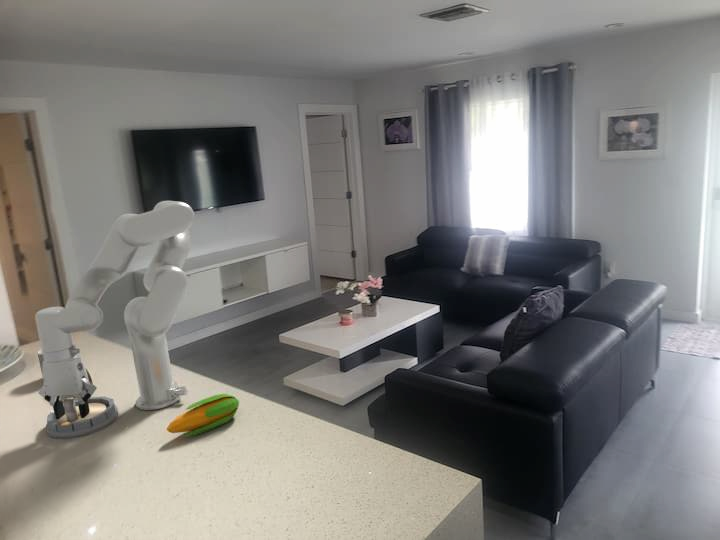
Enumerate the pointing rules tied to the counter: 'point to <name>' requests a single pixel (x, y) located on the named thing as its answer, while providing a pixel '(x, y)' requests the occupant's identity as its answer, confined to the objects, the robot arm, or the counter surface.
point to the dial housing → (83, 421)
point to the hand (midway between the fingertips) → (72, 415)
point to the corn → (205, 415)
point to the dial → (73, 411)
